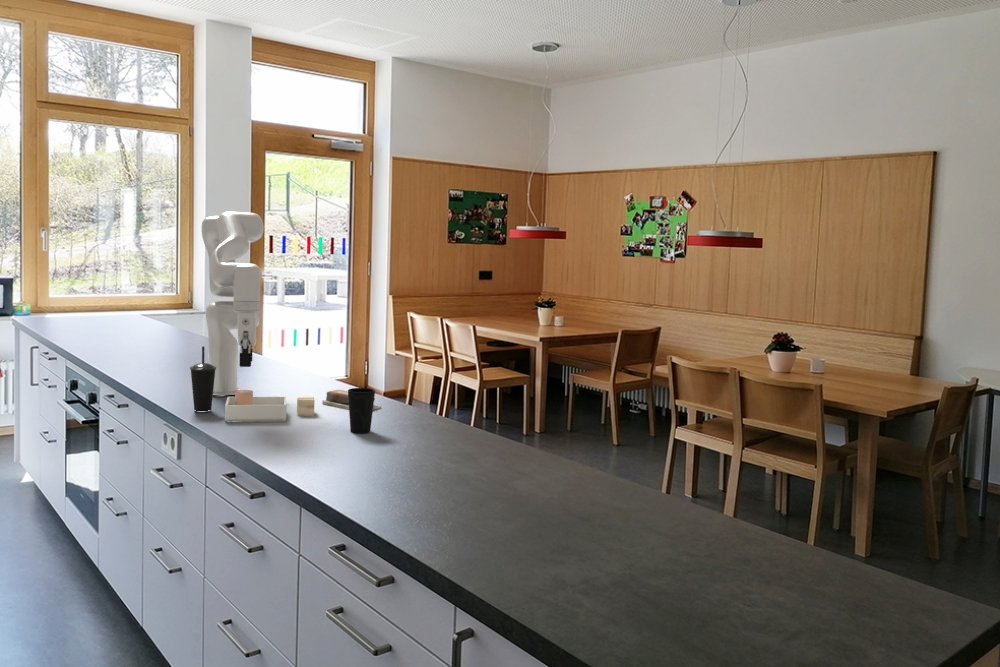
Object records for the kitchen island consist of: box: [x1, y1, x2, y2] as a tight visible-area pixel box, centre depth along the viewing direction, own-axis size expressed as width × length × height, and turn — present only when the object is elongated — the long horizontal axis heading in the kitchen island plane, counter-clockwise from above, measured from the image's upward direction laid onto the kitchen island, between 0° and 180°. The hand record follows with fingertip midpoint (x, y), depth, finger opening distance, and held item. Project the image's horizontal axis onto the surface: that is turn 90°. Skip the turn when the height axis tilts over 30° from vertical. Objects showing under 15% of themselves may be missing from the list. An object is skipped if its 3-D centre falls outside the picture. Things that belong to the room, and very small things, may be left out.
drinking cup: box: [189, 345, 216, 411], centre depth 249 cm, size 8×8×20 cm
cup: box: [347, 387, 376, 435], centre depth 233 cm, size 8×8×12 cm
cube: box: [296, 396, 315, 417], centre depth 253 cm, size 5×5×5 cm
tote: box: [224, 396, 287, 423], centre depth 245 cm, size 13×17×5 cm
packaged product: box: [321, 389, 382, 411], centre depth 268 cm, size 18×5×10 cm
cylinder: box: [234, 389, 254, 405], centre depth 244 cm, size 5×5×7 cm
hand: (246, 364), depth 243 cm, fingers open, 9 cm apart
